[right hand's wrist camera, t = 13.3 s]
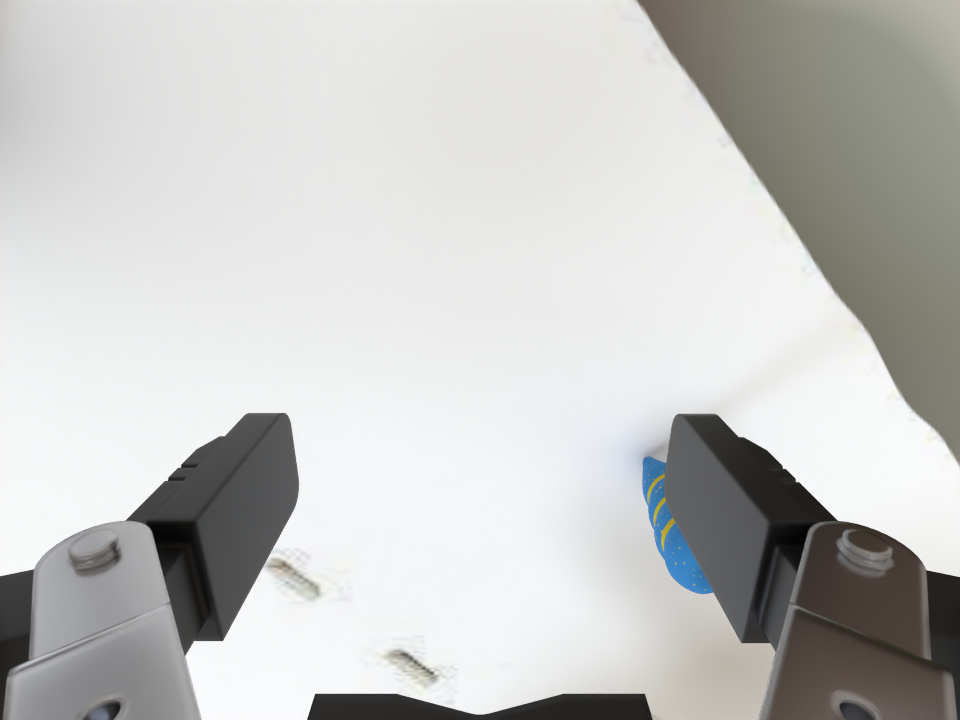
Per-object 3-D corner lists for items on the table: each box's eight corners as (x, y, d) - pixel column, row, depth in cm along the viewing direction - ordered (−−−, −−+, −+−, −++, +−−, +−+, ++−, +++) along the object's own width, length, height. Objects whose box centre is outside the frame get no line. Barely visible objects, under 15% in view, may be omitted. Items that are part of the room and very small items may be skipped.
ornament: (605, 461, 44) (663, 598, 30) (648, 419, 43) (730, 542, 29) (648, 494, 46) (723, 640, 32) (691, 454, 44) (790, 588, 30)
